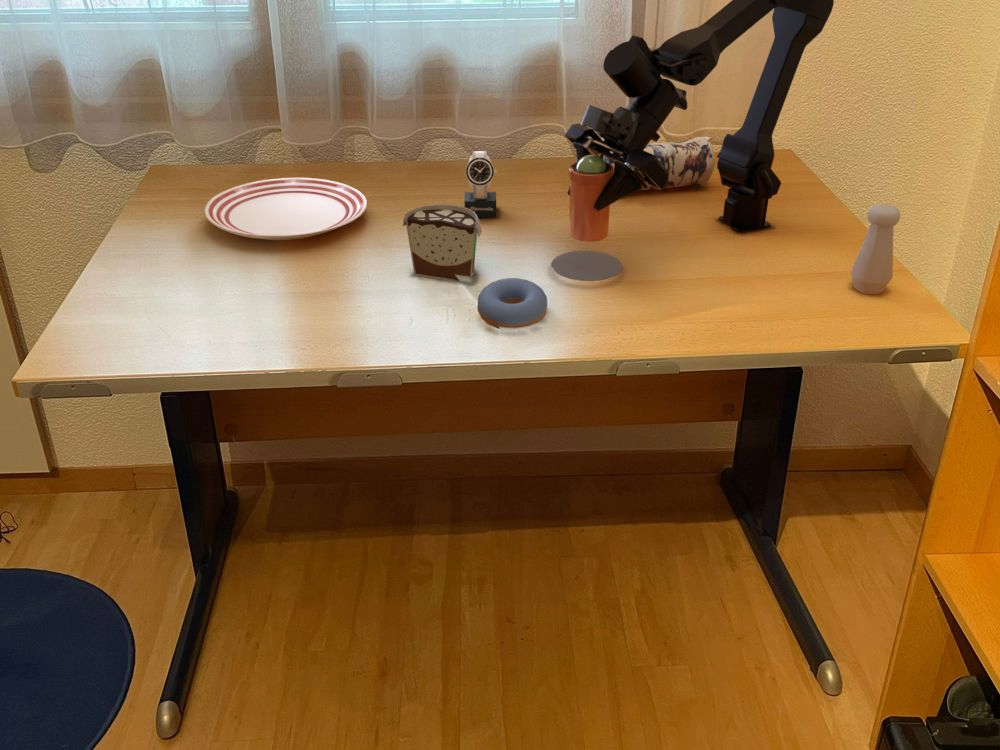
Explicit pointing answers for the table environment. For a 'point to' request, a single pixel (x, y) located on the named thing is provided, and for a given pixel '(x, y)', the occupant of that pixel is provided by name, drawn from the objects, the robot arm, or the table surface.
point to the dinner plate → (285, 208)
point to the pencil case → (682, 161)
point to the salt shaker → (876, 251)
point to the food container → (442, 240)
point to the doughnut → (512, 303)
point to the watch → (480, 185)
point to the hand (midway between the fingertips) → (582, 202)
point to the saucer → (586, 265)
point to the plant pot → (588, 198)
